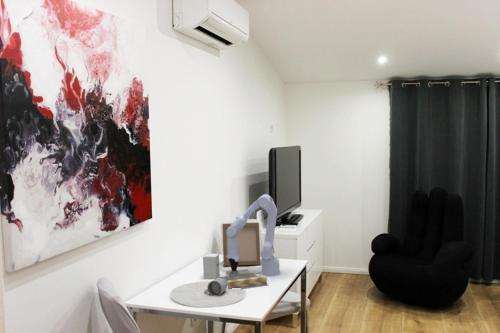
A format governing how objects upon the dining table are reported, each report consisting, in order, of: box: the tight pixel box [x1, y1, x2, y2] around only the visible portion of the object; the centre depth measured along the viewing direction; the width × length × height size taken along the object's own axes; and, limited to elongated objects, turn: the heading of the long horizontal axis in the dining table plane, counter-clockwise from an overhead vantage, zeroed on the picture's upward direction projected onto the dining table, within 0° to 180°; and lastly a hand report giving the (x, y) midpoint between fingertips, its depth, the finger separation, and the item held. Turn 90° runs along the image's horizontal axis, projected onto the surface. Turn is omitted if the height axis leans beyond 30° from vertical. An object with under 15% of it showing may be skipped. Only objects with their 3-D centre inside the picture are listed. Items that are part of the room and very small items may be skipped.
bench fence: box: [227, 274, 268, 290], centre depth 243 cm, size 20×5×4 cm, turn 107°
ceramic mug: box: [204, 278, 228, 297], centre depth 233 cm, size 11×8×8 cm
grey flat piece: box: [225, 268, 252, 280], centre depth 257 cm, size 12×8×3 cm, turn 107°
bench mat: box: [218, 272, 269, 290], centre depth 250 cm, size 20×26×1 cm
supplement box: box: [202, 253, 221, 280], centre depth 261 cm, size 7×7×13 cm
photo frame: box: [222, 222, 261, 267], centre depth 289 cm, size 15×22×25 cm
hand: (234, 271), depth 266 cm, fingers closed
